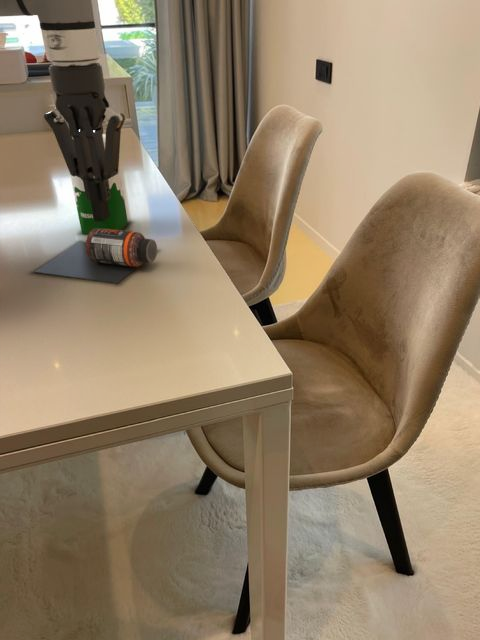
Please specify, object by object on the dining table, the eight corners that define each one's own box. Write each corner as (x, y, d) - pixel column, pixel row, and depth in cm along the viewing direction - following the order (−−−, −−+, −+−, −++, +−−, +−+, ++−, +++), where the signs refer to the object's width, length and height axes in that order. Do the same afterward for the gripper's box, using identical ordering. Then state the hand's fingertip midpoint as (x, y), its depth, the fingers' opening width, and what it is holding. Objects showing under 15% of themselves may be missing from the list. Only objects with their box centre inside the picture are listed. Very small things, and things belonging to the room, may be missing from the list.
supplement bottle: (101, 225, 99) (160, 231, 97) (103, 259, 101) (160, 265, 99) (83, 229, 94) (144, 235, 91) (84, 264, 96) (144, 271, 93)
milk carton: (75, 237, 110) (54, 130, 99) (95, 221, 118) (77, 120, 107) (117, 239, 109) (100, 132, 98) (134, 223, 116) (120, 121, 106)
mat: (35, 275, 96) (34, 271, 96) (79, 244, 107) (79, 241, 107) (118, 286, 92) (117, 283, 92) (155, 253, 103) (155, 250, 103)
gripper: (20, 64, 80) (56, 222, 93) (100, 66, 77) (126, 230, 90) (51, 59, 86) (80, 208, 99) (127, 60, 83) (147, 214, 96)
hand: (102, 218), depth 94 cm, fingers closed
